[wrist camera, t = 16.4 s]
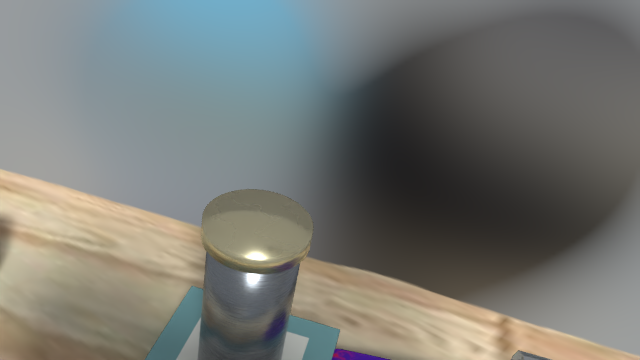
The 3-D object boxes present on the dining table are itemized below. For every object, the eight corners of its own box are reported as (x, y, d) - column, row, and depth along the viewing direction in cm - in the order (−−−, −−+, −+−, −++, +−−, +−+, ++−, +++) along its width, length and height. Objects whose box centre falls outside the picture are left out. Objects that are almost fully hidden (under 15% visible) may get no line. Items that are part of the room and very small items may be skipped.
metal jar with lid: (295, 342, 44) (324, 206, 37) (269, 415, 38) (297, 270, 32) (212, 317, 44) (226, 179, 38) (175, 385, 39) (183, 237, 33)
